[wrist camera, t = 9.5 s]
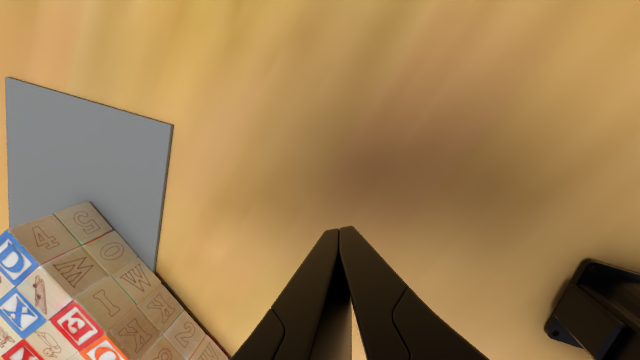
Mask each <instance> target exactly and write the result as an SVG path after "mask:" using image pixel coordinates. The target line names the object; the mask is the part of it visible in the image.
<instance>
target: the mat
mask: <svg viewBox="0 0 640 360" xmlns="http://www.w3.org/2000/svg"><path fill="white" fill-rule="evenodd" d="M5 94H6V130H7V166H8V202H9V229H10V228H13V227H16V226H19V225H21V224H24V223H27V222H30V221H33V220H36V219H39V218H42V217H45V216H48V215H51V214H54V213H56V212H58V211H61V210H64V209H67V208H70V207H73V206H76V205H79V204H83V203H86V202H90V203H91V204H92V205H93V207H94V208H95V209H96V210H97V211H98V212H99V214H100V215H101V216H102V217H103V218H104V219H105V221H106V222H107V223H108V224H109V225H110V226H111V227H112V230H114V231H116V232H117V233H118V234H119V235H120V236H121V237H122V238H123V239H124V241H125V242H126V243H127V244H128V245H129V246H130V247H131V248H132V250H133V251H134V252H135V253H136V255H137V257H139V258H140V259H141V260H142V261H143V262H144V263H145V264H146V266H147V267H148V268H149V269H150V270H151V271H152V272H153V273H154V274H155V268H156V260H157V252H158V244H159V236H160V228H161V220H162V212H163V204H164V196H165V188H166V181H167V173H168V165H169V157H170V149H171V141H172V133H173V125H171V124H168V123H164V122H161V121H157V120H154V119H151V118H147V117H144V116H140V115H137V114H133V113H130V112H127V111H123V110H120V109H116V108H113V107H110V106H106V105H103V104H99V103H96V102H92V101H89V100H86V99H82V98H79V97H75V96H72V95H68V94H65V93H62V92H58V91H55V90H51V89H48V88H45V87H41V86H38V85H34V84H31V83H27V82H24V81H21V80H17V79H14V78H10V77H5Z"/></svg>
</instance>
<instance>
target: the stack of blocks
mask: <svg viewBox="0 0 640 360" xmlns="http://www.w3.org/2000/svg"><path fill="white" fill-rule="evenodd" d="M0 356H2V357H3V359H4V360H229V359H228V357H227V356H226V355H225V354H224V352H223V351H222V350H221V349H220V348H219V347H218V346H217V345H216V344H215V342H214V341H213V340H212V339H211V338H210V337H209V336H208V335H206V334H205V332H204V331H203V330H202V329H201V328H200V327H199V326H198V324H197V323H196V322H195V321H194V320H193V319H192V318H191V317H190V315H189V314H188V313H187V312H186V311H185V310H184V309H183V307H182V306H181V305H180V304H179V303H178V302H177V300H176V299H175V298H174V297H173V296H172V295H171V294H170V292H169V291H168V290H167V289H166V288H165V287H164V286H163V285H162V284H161V281H160V280H159V279H158V278H157V277H156V276H155V274H154V273H153V272H152V271H151V270H150V269H149V268H148V267H147V266H146V264H145V263H144V262H143V261H142V260H141V259H140V258H139V257H137V255H136V253H135V252H134V251H133V250H132V248H131V247H130V246H129V245H128V244H127V243H126V242H125V241H124V239H123V238H122V237H121V236H120V235H119V234H118V233H117V232H116V231H114V230H112V227H111V226H110V225H109V224H108V223H107V222H106V221H105V219H104V218H103V217H102V216H101V215H100V214H99V212H98V211H97V210H96V209H95V208H94V207H93V205H92V204H91V203H90V202H86V203H83V204H79V205H76V206H73V207H70V208H67V209H64V210H61V211H58V212H56V213H54V214H51V215H48V216H45V217H42V218H39V219H36V220H33V221H30V222H27V223H24V224H21V225H19V226H16V227H13V228H10V229H7V230H6V231H4V232H3V233H2V234H1V235H0Z"/></svg>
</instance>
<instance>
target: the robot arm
mask: <svg viewBox="0 0 640 360" xmlns="http://www.w3.org/2000/svg"><path fill="white" fill-rule="evenodd" d="M591 266H593V268H592V269H589V268H590V267H591ZM351 301H352V305H353V309H354V313H355V317H356V320H357V324H358V328H359V332H360V336H361V339H362V343H363V347H364V351H365V355H366V359H367V360H489V359H488V358H487V357H486V356H485V355H484V354H482V353H481V352H480V351H479V350H478V349H476V348H475V347H474V346H473V345H472V344H470V343H469V342H468V341H467V340H466V339H464V338H463V337H462V336H461V335H460V334H458V333H457V332H456V331H455V330H454V329H452V328H451V327H450V326H449V325H448V324H447V323H445V322H444V321H443V320H442V319H441V318H440V317H439V316H438V315H436V314H435V313H434V312H433V311H432V310H431V309H430V308H429V307H428V306H427V305H426V304H425V303H424V302H423V301H422V300H421V299H420V298H419V297H418V296H417V295H416V294H415V293H414V291H413V290H412V289H411V288H409V286H408V285H407V284H406V283H405V282H404V281H403V280H402V279H401V278H400V277H399V275H398V274H397V273H396V272H395V271H394V270H393V269H392V268H391V267H390V266H389V265H388V264H387V262H386V261H385V260H384V259H383V258H382V257H381V256H380V255H379V254H378V253H377V252H376V251H375V249H374V248H373V247H372V246H371V245H370V244H369V243H368V242H367V241H366V240H365V239H364V238H363V236H362V235H361V234H360V233H359V232H358V231H357V230H356V229H355V228H354V227H353V226H348V227H342V228H340V229H331V230H326V231H325V232H324V233H323V235H322V236H321V237H320V239H319V240H318V242H317V243H316V244H315V246H314V247H313V249H312V250H311V251H310V253H309V254H308V256H307V257H306V258H305V260H304V261H303V263H302V264H301V266H300V267H299V268H298V270H297V271H296V273H295V274H294V275H293V277H292V278H291V280H290V281H289V282H288V284H287V285H286V287H285V288H284V289H283V291H282V292H281V294H280V295H279V296H278V298H277V299H276V301H275V302H274V303H273V305H272V306H271V309H269V310H268V312H267V313H266V315H265V316H264V317H263V319H262V320H261V321H260V323H259V324H258V325H257V327H256V328H255V329H254V331H253V332H252V333H251V335H250V336H249V337H248V339H247V340H246V341H245V342H244V343H243V345H242V346H241V347H240V348H239V349H238V351H237V352H236V353H235V354H234V355H233V357H232V358H231V359H230V360H352V308H351ZM553 331H555V332H553ZM545 332H546V334H547V335H548V336H549V337H550V338H551V339H554V340H557V341H560V342H563V343H567V344H570V345H573V346H576V347H579V348H582V349H585V350H586V351H587V353H588V354H589V355H590V356H591V357H592V358H593V359H594V360H640V273H636V272H633V271H630V270H626V269H623V268H619V267H616V266H613V265H609V264H606V263H603V262H599V261H596V260H592V259H589V260H585V261H584V262H583V263H582V264H581V266H580V268H579V269H578V271H577V273H576V275H575V276H574V278H573V280H572V282H571V283H570V285H569V287H568V289H567V290H566V292H565V294H564V296H563V297H562V299H561V301H560V302H559V304H558V306H557V308H556V309H555V311H554V313H553V315H552V316H551V318H550V320H549V322H548V323H547V325H546V327H545Z"/></svg>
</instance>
